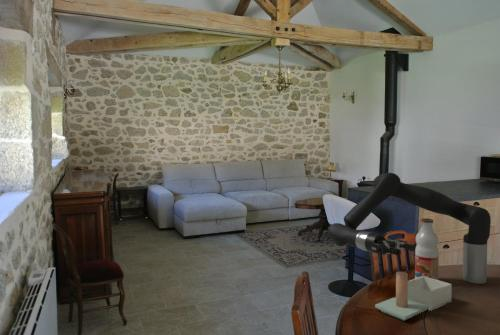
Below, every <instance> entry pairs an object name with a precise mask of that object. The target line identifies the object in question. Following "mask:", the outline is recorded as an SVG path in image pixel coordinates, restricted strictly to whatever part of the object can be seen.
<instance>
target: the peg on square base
mask: <svg viewBox="0 0 500 335" xmlns="http://www.w3.org/2000/svg"><path fill="white" fill-rule="evenodd" d="M408 281H409V274H408V272H405V271H396V272H395V297H391V298H389V299H385V300H383V301H381V302H379V303H376V304H374V308H376V309H378V310H380V312H381V313H384V314H386V315H388V316H391V317H394V318H396V319H399V320H400V321H402V322H404V321H407V320H409V319H412V318H414V317H416V316H417V314H418V315H420V314H422V313H424V312H425V311H427V309H429V306H427V305H424V304H421V303H418V302H415V301H413V300H410V299H408ZM421 312H422V313H421ZM419 313H420V314H419ZM415 315H416V316H415ZM413 316H414V317H413Z"/></svg>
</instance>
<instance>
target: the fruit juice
mask: <svg viewBox="0 0 500 335" xmlns="http://www.w3.org/2000/svg"><path fill="white" fill-rule="evenodd" d="M420 224H421V227H420V229H419V231H418V232H417V234H416V235H415V242H416V245H415V251H414V279H415V278H418V277H420V276H425V277H429V278H432V279H436V280H439V249H438V243H439V237H438V235H437V234H436V233H435V231H434V227H433V224H434V219H432V218H421V219H420Z"/></svg>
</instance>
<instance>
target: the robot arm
mask: <svg viewBox="0 0 500 335" xmlns="http://www.w3.org/2000/svg"><path fill="white" fill-rule="evenodd" d="M372 185H373V188H374V189H373V190H372V191H371V192H370V193H369V194H368V195H366V196H365V197H364V198H363V199H361V200H360V201H359V202H358V203H356V204H355V205H354V206H353V207H352V208H351V209H350V210H349V211H348V212H347V213H346V214H345V215H344V216H343V221H344V224H343V223H339V222H336V223H331V224H330V225H329V226H328V228H327V235H328V236H329V238H330V239H331V240H332V241H333V243H334V244H335V245H336V246H338V247H344V246H346V245H348V246H349V247H353V248H356V249H360V250H362V251H365V252H369V253H373V254H378V255H379V254H380V255H384V256H385V255H386V254H387V255H395V256H398V257H399V256H401V255H402V250H403V251H405V250H406V251H410V252H415V249H416V245H414V244H410V243H408V241H406V240H401V239H398V238H397V239H396V238H392V239H386V237H385V236H384V235H383V234H381V233H375V232H371V231H365V230H363V231H361V230H359V229H358V227H360V225H361V224H362V223H363V222H364V221H365V220H366V219H367V218H368V217H369V216H370V214H372V213H373V211H375V210H376V208H378V207H379V206H380V205H381V204H382V203H383V202H384V201H385V200H388V198H390V197H392V198H396V199H399V200H402V201H405V202H407V203H409V204H411V205H413V206H416V207H418V208H421V209H423V210H426V211H429V212H431V213H435V214H439V215H444V216H448V217H451V218H453V219H455V220H457V221H459V222H461V223H463V224H465V225H467V226H468V231H467V233H465V234H464V235H463V241H462V242H463V244H462V246H463V247H462V280H463V281H465V282H466V283H470V284H475V285H476V284H477V285H478V284H479V285H481V284H486V283H487V279H488V278H487V277H488V241H489V238H490V234H491V225H492V224H491V219H492V218H491V214H490V212H489V210H487V209H486V208H484V207H481V206H478V205H477V206H476V205H473V204H472V205H471V204H468V203H463V202H459V201H457V200H454V199H452V198H450V197H449V196H448V195H445V194H444V193H441V192H439V191H436V190H435V189H431V188H428V187H424V186H419V185H413V184H409V183H404V182H402V181H401V179H400V177H399V176H398V174H396V173H393V172H384V173H381V174H379V175H377V176H376V177H375V178H374V180H373V183H372Z"/></svg>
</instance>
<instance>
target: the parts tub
mask: <svg viewBox="0 0 500 335" xmlns="http://www.w3.org/2000/svg"><path fill="white" fill-rule="evenodd" d="M452 286H453V285H452V283H449V282H446V281H443V280H439V279H438V280H436V279H432V278H429V277H425V276H420V277H418V278H415V277H414V278H413V279H410V280H409V279H408V299H410V300H413V301H415V302H418V303H421V304H424V305H427V306H429V309H428V311H430V310H431V311H430V312H433V311H434V309H435V310H436V309H439V308H441V307H443V306H445V305H448V304H449V303H452V292H453V291H452V289H453V288H452ZM447 303H448V304H447ZM432 310H433V311H432Z"/></svg>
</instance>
